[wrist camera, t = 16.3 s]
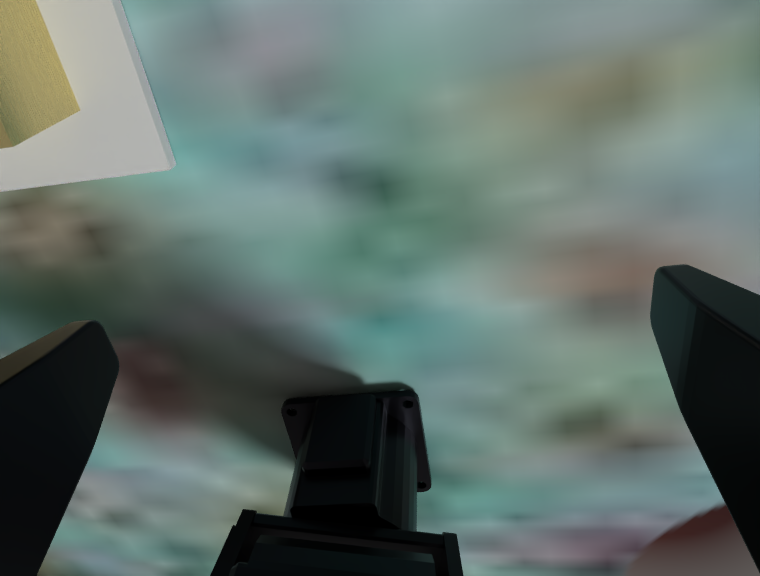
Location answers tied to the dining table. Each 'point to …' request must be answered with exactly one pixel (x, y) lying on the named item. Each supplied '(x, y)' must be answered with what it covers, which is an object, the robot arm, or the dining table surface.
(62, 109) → the olive wooden block
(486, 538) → the dining table surface
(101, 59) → the mat
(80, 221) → the dining table surface
